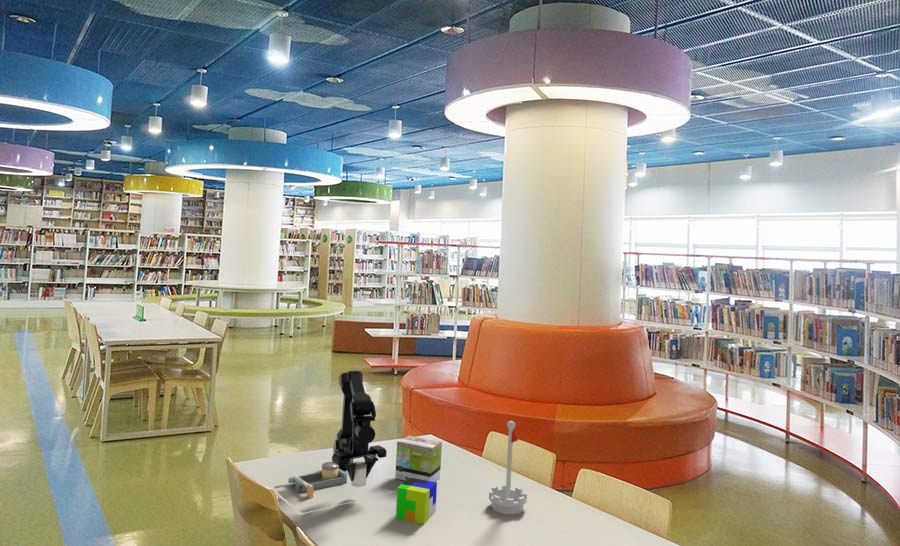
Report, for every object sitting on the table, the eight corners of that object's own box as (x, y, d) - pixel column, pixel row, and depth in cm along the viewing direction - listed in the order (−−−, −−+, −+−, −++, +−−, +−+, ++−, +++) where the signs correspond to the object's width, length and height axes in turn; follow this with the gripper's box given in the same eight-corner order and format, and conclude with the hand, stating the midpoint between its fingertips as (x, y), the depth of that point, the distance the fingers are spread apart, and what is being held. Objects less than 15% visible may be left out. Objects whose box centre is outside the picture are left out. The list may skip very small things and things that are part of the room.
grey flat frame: (334, 476, 222) (334, 465, 222) (346, 484, 215) (347, 473, 215) (288, 485, 211) (288, 474, 211) (299, 494, 203) (299, 483, 203)
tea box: (394, 479, 222) (396, 441, 221) (406, 471, 231) (407, 434, 231) (430, 487, 216) (432, 447, 216) (440, 478, 225) (442, 440, 225)
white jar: (361, 480, 205) (362, 460, 205) (368, 485, 201) (369, 465, 201) (348, 483, 202) (349, 463, 202) (355, 488, 198) (356, 467, 198)
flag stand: (481, 502, 204) (485, 417, 203) (514, 498, 209) (518, 415, 209) (499, 517, 192) (503, 427, 192) (533, 512, 197) (537, 424, 197)
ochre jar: (333, 476, 220) (334, 461, 220) (341, 481, 215) (341, 465, 215) (318, 479, 216) (319, 463, 216) (325, 485, 211) (326, 468, 211)
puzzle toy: (435, 512, 194) (437, 482, 194) (424, 524, 185) (426, 492, 185) (408, 506, 198) (409, 477, 197) (395, 518, 188) (397, 487, 188)
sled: (296, 484, 211) (296, 473, 211) (313, 498, 200) (313, 486, 200) (270, 490, 205) (271, 478, 205) (286, 504, 194) (287, 491, 194)
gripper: (372, 425, 213) (370, 467, 213) (325, 432, 202) (323, 477, 202) (388, 433, 204) (386, 477, 205) (340, 441, 193) (338, 488, 193)
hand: (358, 479), depth 201 cm, fingers closed on white jar, 5 cm apart
